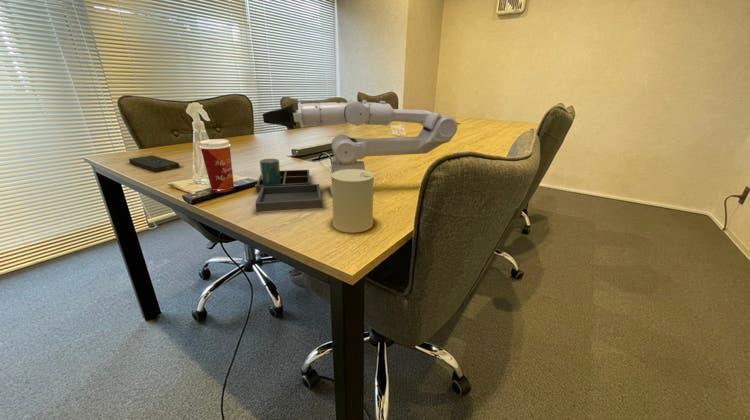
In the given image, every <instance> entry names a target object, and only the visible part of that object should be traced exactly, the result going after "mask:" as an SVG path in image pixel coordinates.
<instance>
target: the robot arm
mask: <svg viewBox="0 0 750 420" xmlns="http://www.w3.org/2000/svg"><path fill="white" fill-rule="evenodd" d="M262 119H263V123H264V124H269V125H277V126H282V127H286V128H289V129H291V130H294V129H295V127H297V123H299V126H300V128H301V129H304V128H306V127H307V128H309V127H327V126H339V125H346V124H348V123H349V124H350V125H353V126H357V127H360V126H361V125H363V124H364V125H370V126H389V125H390V124H391V123H392V122H400V123H401V122H402V123H412V124H419V125H420V126H421V127H422V128H421V131H420V132H419V133H418V135H417V136H401V137H399V136H398V137H373V138H363V137H353V136H348V135H346V134H338V135H336V136H335V137H333V139H332V140H331V144H330V145H331V150H332V152H333V156H332V158H331V159H330V164H331V166H330V168H331V169H330V171H331V174H332V173H333V172H336V171H339V170H345V169H360V170H366V165H365V162H364V161H363V159H364V158H367V157H383V156H384V157H385V156H386V157H387V156H404V155H405V156H406V155H423V154H424V155H425V154H428V153H430V152H432V151H433V150H435V149H436V148H439V147H440V146H441V145H443V144H447V143H449V142H451V140H452V139H453V138H454V136H456V135H455V134H456V133H457V132H458V122H457V120H456V119H455V118H454V117H453V116H452V115H451V116H450V115H445V114H441V113H439V112H433V111H429V110H425V109H402V108H401V109H400V108H399V109H397V108H393V107H392V105H391V104H390V103H386V101H385V100H379V102H370V101H369V102H368V101H367V100H365V99H363V100H362V101H356V100H352V99H351V100H347V101H346V102H344V101H341V102H335V101H333V102H311V103H310V102H308V103H302V98H297V109H296V110H295V109H294V103H291V104H288V105H287V106H285V107H282V108H279V109H274V110H270V111H266V112H264V113H262ZM329 190H330V193H331V195H332V185H329Z"/></svg>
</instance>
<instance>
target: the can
mask: <svg viewBox="0 0 750 420" xmlns="http://www.w3.org/2000/svg"><path fill="white" fill-rule="evenodd" d="M330 177H331V186H332V194H331V197H332V223H331V224H332V226H333V228H334V229H335V230H337V231H339V232H342V233H348V234H350V233H351V234H356V233H362V232H367V231H369V230H370V229H371V228H372V227H373V226H374V219H373V217H374V214H373V213H374V212H373V211H374V181H375V173H373V172H372V171H369V170H366V169H365V170H360V169H345V170H339V171H336V172H333V173H332V172H331V174H330Z"/></svg>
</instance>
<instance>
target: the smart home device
mask: <svg viewBox="0 0 750 420" xmlns="http://www.w3.org/2000/svg"><path fill="white" fill-rule="evenodd" d="M128 161H129V164H130V165H133V166H136V167H139V168H140V169H141V168H142V169H145V170H147V171H150V172H153V173H160V172H161V173H162V172H167V171H170V170H175V169H180V168H181V167H180V163H179V162H178V161H177V162H176V161H174V160H170V159H166V158H164V157H160V156H157V155H152V154H151V155H145V156H139V157H133V158H128Z"/></svg>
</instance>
